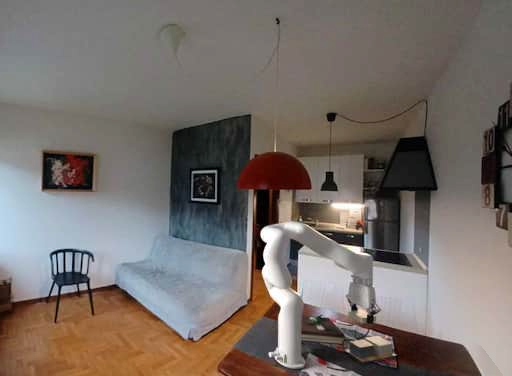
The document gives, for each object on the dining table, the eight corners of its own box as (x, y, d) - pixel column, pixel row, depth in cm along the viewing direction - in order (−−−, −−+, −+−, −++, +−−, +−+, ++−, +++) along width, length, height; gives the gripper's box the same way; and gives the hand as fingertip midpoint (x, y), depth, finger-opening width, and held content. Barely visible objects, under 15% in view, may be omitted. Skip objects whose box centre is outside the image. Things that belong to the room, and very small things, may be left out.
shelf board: (362, 365, 114) (362, 361, 114) (344, 352, 123) (344, 349, 123) (396, 358, 119) (396, 355, 119) (376, 346, 128) (376, 343, 128)
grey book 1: (360, 353, 117) (360, 347, 117) (349, 346, 121) (349, 341, 121) (373, 350, 119) (373, 345, 119) (363, 344, 123) (363, 339, 123)
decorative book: (275, 311, 149) (332, 315, 144) (275, 324, 149) (332, 329, 144) (285, 328, 130) (351, 334, 125) (285, 344, 130) (351, 350, 125)
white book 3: (379, 356, 118) (379, 351, 118) (364, 347, 125) (364, 342, 125) (392, 353, 120) (392, 348, 120) (377, 345, 127) (377, 340, 127)
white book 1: (362, 323, 116) (362, 318, 116) (348, 316, 123) (348, 311, 123) (376, 321, 118) (376, 316, 118) (361, 314, 124) (361, 309, 125)
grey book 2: (359, 358, 117) (360, 353, 117) (349, 351, 121) (349, 346, 121) (373, 355, 119) (373, 350, 119) (363, 349, 123) (363, 344, 123)
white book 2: (379, 351, 118) (379, 345, 118) (364, 342, 125) (364, 337, 125) (392, 348, 120) (392, 343, 120) (377, 340, 127) (377, 335, 127)
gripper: (339, 275, 128) (338, 311, 128) (375, 288, 111) (374, 330, 111) (351, 274, 130) (351, 310, 130) (388, 286, 113) (388, 328, 113)
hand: (361, 318), depth 120 cm, fingers closed on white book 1, 6 cm apart
